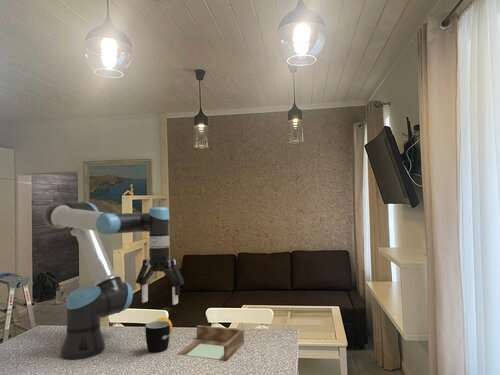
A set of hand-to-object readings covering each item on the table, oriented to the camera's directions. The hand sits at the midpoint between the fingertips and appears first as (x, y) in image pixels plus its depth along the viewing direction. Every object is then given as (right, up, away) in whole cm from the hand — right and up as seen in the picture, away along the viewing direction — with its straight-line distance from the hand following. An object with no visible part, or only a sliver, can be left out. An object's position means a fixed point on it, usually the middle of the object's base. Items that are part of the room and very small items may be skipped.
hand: (159, 302), depth 133 cm
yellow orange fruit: (-3, -19, +15) cm, 24 cm away
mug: (0, -18, -1) cm, 18 cm away
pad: (+20, -16, -6) cm, 26 cm away
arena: (+20, -17, -3) cm, 27 cm away
